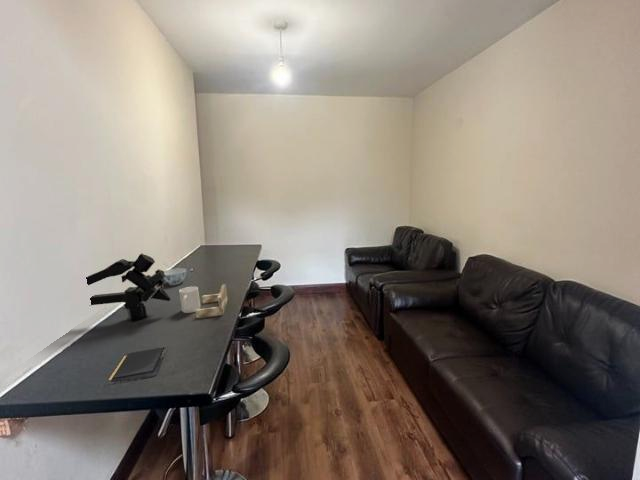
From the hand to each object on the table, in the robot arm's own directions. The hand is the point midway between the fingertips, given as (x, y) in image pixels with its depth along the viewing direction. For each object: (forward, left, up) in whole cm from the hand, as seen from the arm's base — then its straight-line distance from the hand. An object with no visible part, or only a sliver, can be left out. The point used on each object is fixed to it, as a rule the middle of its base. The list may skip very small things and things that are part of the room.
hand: (170, 300), depth 155 cm
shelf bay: (+13, -11, -7) cm, 19 cm away
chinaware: (+27, +49, -7) cm, 56 cm away
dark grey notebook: (-29, -35, -7) cm, 47 cm away
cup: (+6, -5, -7) cm, 11 cm away
